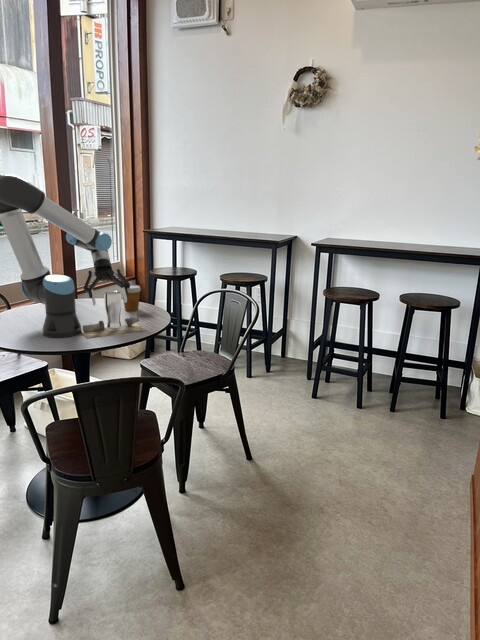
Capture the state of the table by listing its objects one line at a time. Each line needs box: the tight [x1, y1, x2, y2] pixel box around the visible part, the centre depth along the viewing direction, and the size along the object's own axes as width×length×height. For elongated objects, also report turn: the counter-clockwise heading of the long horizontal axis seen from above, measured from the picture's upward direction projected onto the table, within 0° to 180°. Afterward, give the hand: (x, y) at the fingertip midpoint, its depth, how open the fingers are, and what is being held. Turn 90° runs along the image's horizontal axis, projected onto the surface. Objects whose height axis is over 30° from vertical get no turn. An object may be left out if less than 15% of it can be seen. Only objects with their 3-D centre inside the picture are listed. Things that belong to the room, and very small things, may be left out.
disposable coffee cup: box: [120, 284, 142, 313], centre depth 236 cm, size 10×10×12 cm
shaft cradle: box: [80, 314, 144, 339], centre depth 204 cm, size 24×10×6 cm, turn 122°
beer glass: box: [103, 290, 122, 329], centre depth 203 cm, size 7×7×15 cm
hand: (110, 302), depth 210 cm, fingers open, 13 cm apart
